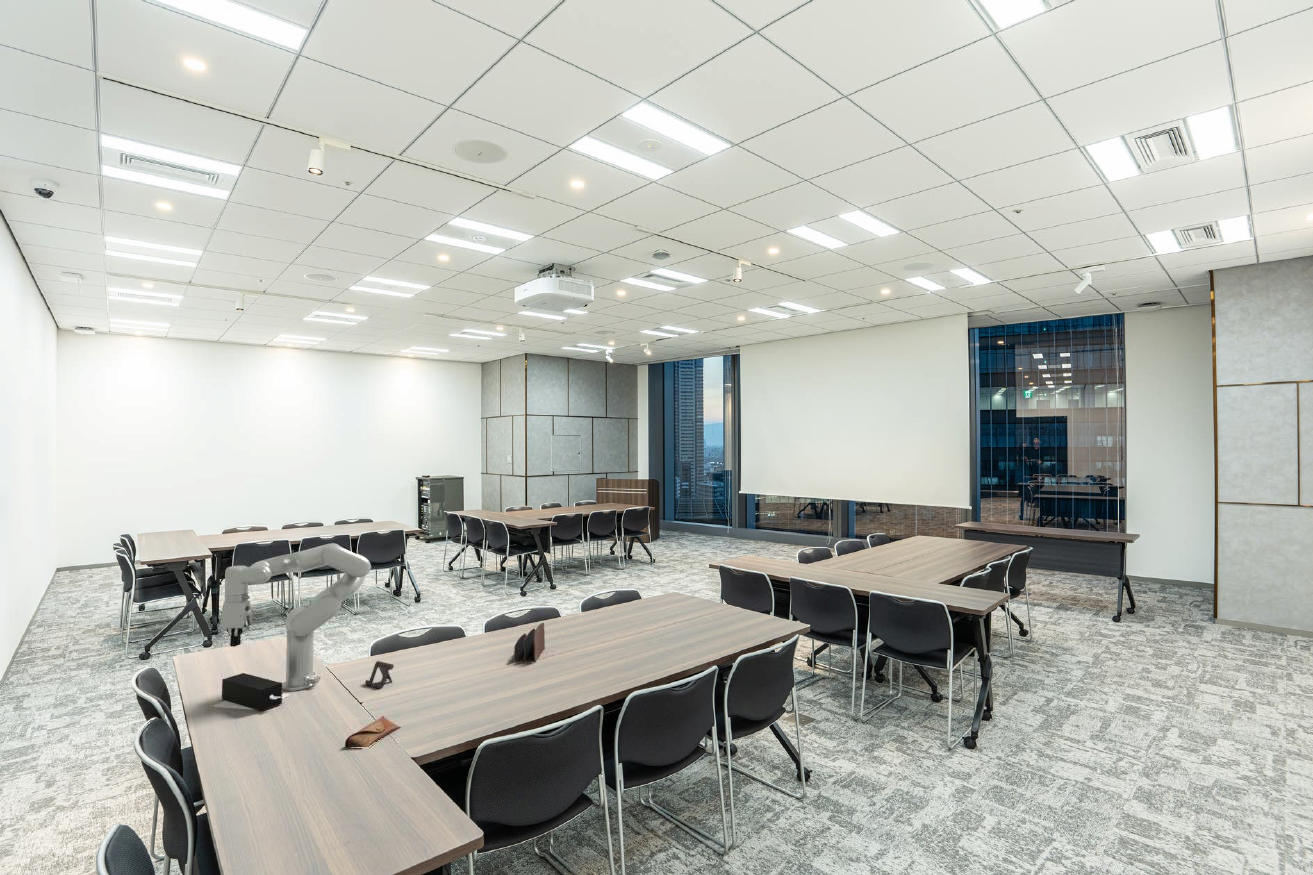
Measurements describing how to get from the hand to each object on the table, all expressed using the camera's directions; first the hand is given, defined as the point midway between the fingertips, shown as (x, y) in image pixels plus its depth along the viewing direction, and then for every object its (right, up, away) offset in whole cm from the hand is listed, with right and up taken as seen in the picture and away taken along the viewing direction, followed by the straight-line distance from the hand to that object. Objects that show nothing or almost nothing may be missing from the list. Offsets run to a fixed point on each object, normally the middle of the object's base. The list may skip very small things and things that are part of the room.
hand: (235, 645), depth 239 cm
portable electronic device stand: (+51, -21, +13) cm, 56 cm away
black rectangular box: (-1, -16, 0) cm, 16 cm away
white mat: (+10, -20, -4) cm, 23 cm away
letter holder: (+105, -22, +49) cm, 118 cm away
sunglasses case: (+70, -20, -34) cm, 80 cm away
